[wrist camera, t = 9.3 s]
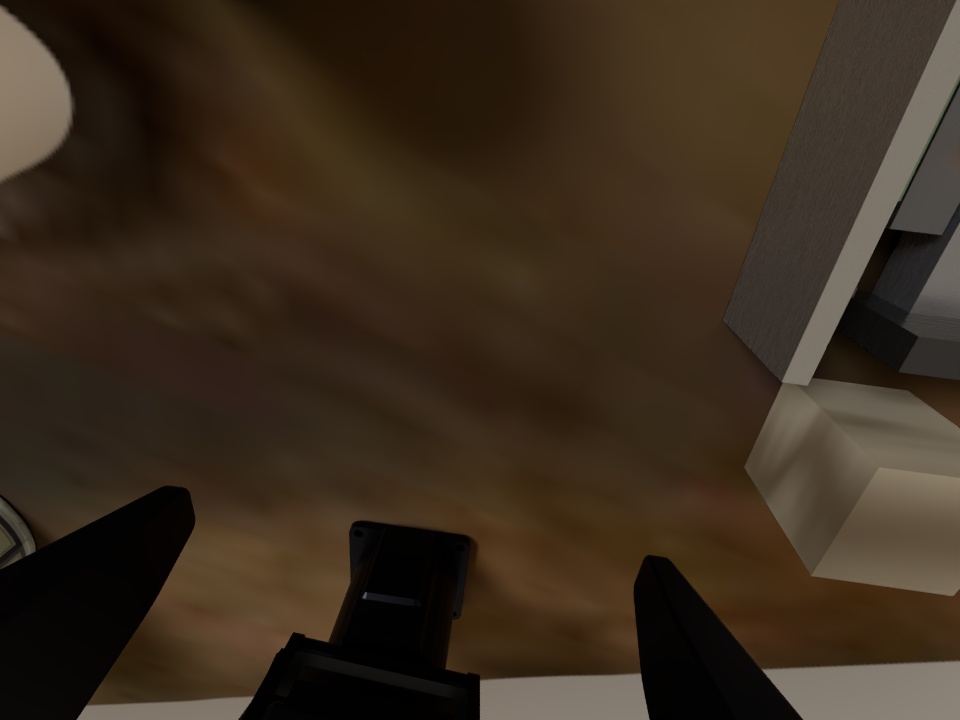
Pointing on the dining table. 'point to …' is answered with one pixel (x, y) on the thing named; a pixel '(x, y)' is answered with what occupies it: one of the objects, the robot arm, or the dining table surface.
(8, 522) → the coffee can
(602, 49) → the dining table surface
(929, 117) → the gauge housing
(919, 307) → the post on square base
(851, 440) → the block
